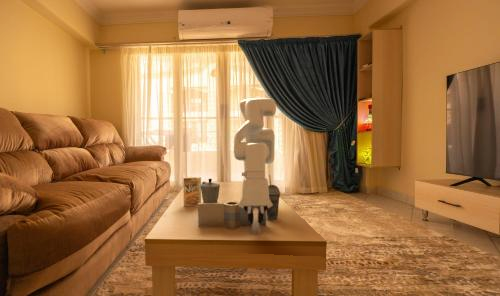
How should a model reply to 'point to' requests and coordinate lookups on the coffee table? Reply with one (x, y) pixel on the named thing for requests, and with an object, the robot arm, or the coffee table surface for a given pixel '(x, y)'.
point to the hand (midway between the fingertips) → (255, 222)
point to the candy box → (192, 191)
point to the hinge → (224, 215)
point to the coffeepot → (210, 192)
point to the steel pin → (255, 220)
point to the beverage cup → (273, 202)
